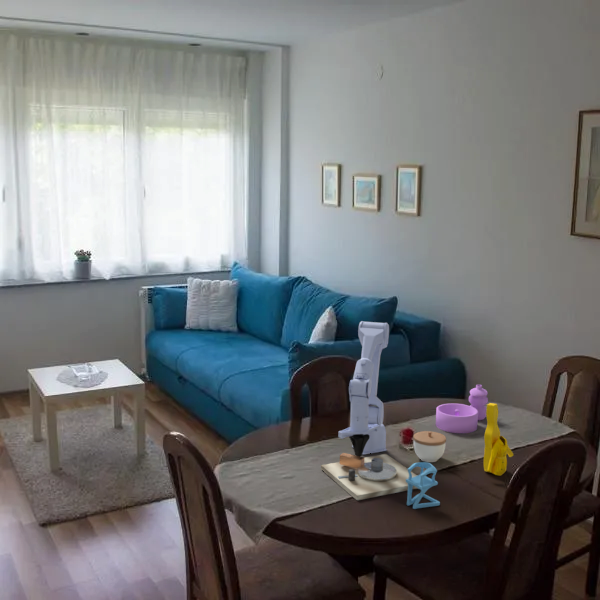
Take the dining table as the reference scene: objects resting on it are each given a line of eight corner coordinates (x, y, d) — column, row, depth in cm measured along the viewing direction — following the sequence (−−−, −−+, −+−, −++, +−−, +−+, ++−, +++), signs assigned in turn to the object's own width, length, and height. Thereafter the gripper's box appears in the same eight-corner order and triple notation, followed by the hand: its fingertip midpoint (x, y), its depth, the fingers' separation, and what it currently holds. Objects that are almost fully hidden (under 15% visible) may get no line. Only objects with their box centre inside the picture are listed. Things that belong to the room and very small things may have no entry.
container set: (461, 436, 269) (463, 401, 267) (427, 425, 280) (428, 391, 278) (499, 421, 286) (501, 388, 283) (466, 411, 297) (467, 379, 294)
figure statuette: (493, 483, 230) (498, 415, 226) (470, 476, 235) (474, 409, 231) (518, 465, 243) (522, 401, 239) (495, 459, 248) (499, 396, 244)
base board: (385, 458, 249) (386, 445, 248) (426, 486, 227) (426, 472, 226) (321, 469, 239) (321, 456, 238) (357, 500, 217) (357, 485, 216)
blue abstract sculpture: (400, 502, 217) (402, 463, 214) (421, 495, 221) (423, 457, 219) (419, 512, 210) (421, 472, 208) (440, 505, 215) (442, 465, 213)
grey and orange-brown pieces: (402, 470, 234) (402, 458, 233) (386, 484, 224) (387, 471, 223) (349, 458, 243) (350, 446, 243) (332, 471, 233) (332, 458, 233)
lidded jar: (448, 455, 251) (449, 429, 249) (440, 467, 241) (441, 440, 240) (417, 450, 255) (418, 424, 254) (408, 461, 246) (409, 434, 244)
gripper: (347, 422, 231) (346, 464, 234) (385, 415, 238) (384, 455, 241) (335, 416, 237) (334, 456, 240) (372, 409, 244) (371, 448, 247)
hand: (358, 455), depth 241 cm, fingers closed
